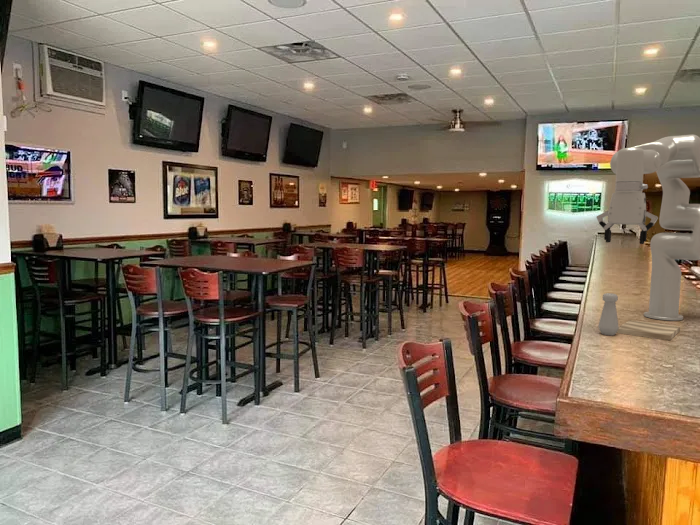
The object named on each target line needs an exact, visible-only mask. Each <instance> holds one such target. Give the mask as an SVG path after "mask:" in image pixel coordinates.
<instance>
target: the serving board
mask: <svg viewBox="0 0 700 525" xmlns="http://www.w3.org/2000/svg"><path fill="white" fill-rule="evenodd" d="M618 326H619V328H618V331H617V332H616V334H617V333H618V334H621V335H622V334H624V335H631V336H636V337H637V336H638V337H642V336H643V337H644V338H650V339H657V340H664V341H671V340H672V339H673V338H674V337H676V335H677V334H678V333H680V331H681V326H680V325H673V324H672V325H671V324H665V323H664V324H663V323H657V322H649V321H640V320H632V319H629V320H628V321H626V322H624V323H623V324H620V325H618ZM643 337H642V338H643Z"/></svg>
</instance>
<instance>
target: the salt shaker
mask: <svg viewBox="0 0 700 525" xmlns="http://www.w3.org/2000/svg"><path fill="white" fill-rule="evenodd" d="M618 298H619V296H618V295H617V294H616V293H609V292H607V293H604V294H602V301H604V303H603V307H602V311H601V314H600V318H599V322H598V330H599V331H600V333H601V335H603V336H616V334H617V333H616V332H617V331H618V328H619V326H620V325H619V319H618V312H617V305H616V302H618Z"/></svg>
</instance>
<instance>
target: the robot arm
mask: <svg viewBox="0 0 700 525" xmlns="http://www.w3.org/2000/svg"><path fill="white" fill-rule="evenodd" d="M609 166H610V170H611V172H613V174H614V175H615V184H614V186H615V187H614V192H612V194H611V198H610V201H609V208H608V210H607V211H605V212H603V213H601V214H598V215H596V219H597V221H598V223H599V224H598V225H599V226H600V227H602V228H603V230H604V234H603V235H604V236H603V238H604V240H605V243H606V244H607V243H611V241H612V240H611V238H612V230H611V228H613V226H614V225H632V226H634V225H635V226H636V225H637V226H638V227H639V228H640V229H641V230H640V232H639V244H640V245H644V244H645V242H647V237H648V236H647V234H648V231H649V230H650V229H651V228H652V227H654V226H655V224H656V223H657V221H658V220H659V225H660V227H661V228H663V229H665V230H673V231H691V233H686V232H659V233H656V234H654V235H653V236H652V237H651V239H650V244H649V245H650V246H649V247H650V253H651V254H650V255H651V272H650V273H651V274H650V289H649V303H648V305H649V306H648V311H645V312H643V316H644V317H645V318H649V319H653V320H661V321H672V322H673V321H676V322H677V321H683V320H684V315H682V314H679V310H680V297H681V284H682V282H681V281H682V270H681V267H680V266H679V263H678V262H677V261H676V260H686V261H700V203H689V202H690V195H691V189H689V187H688V185H687V184H686V183H685V182H684V181H683V180H682V179H691V178H692V179H693V178H700V136H698V135H696V134H682V135H670V136H665V137H661V138H660V139H657V140H654V141H652V142H647V143H643V144H641V145H636V146H632V147H625V148H621V149H619V150H618V151H616V152H614V154H613V155H612V157H611V159H610V162H609ZM653 173H656V175H657V177H658V180H659V183H660V185H661V189H662V199H661V206H660V210H659V211H660V212H659V217H658V216H657V215H654V214H653V213H650V212H649V211H647V200H646V193H645V192H643V191H644V190H647V189H648V188H649V186H648V184H645V183H644V182H643V181H644V179H643V178H644V175H647V174H653ZM606 217H607V221H608V222H607V223H606V222H605V221H604V218H606ZM647 218H648V219H651V220H650V222H648V223H647V224H646V221H647V220H646V219H647Z"/></svg>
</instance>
